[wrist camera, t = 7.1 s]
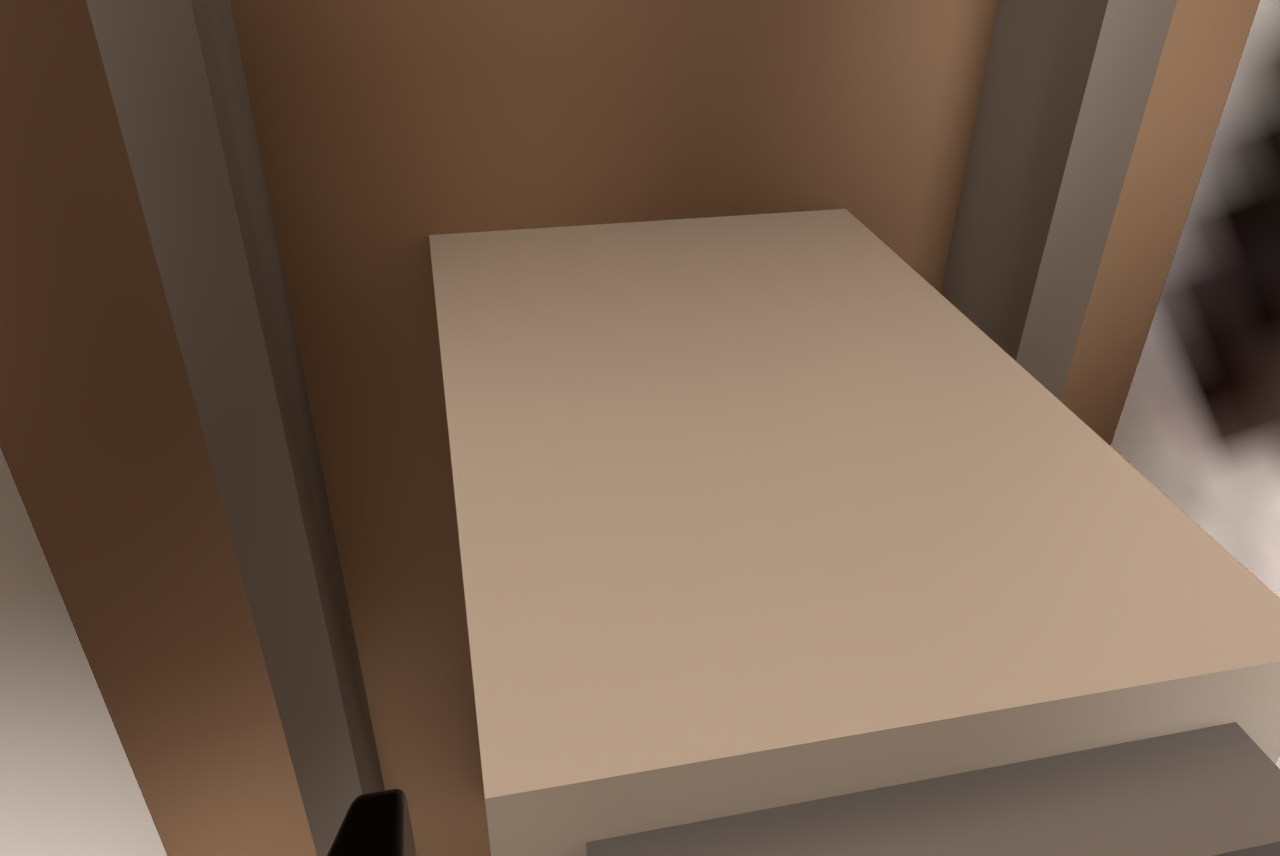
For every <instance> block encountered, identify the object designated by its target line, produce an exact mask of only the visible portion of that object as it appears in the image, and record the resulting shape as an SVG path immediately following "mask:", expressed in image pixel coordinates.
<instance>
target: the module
mask: <svg viewBox="0 0 1280 856" xmlns="http://www.w3.org/2000/svg"><path fill="white" fill-rule="evenodd" d="M429 241H430V251H431V261H432V271H433V281H434V291H435V301H436V312H437V322H438V332H439V342H440V352H441V362H442V372H443V382H444V392H445V402H446V412H447V423H448V433H449V443H450V453H451V463H452V473H453V483H454V493H455V503H456V513H457V523H458V533H459V544H460V554H461V564H462V574H463V584H464V594H465V604H466V614H467V624H468V634H469V644H470V655H471V665H472V675H473V685H474V695H475V705H476V715H477V725H478V735H479V745H480V755H481V766H482V776H483V786H484V796H485V805H486V814H487V824H488V833H489V842H490V851H491V856H1280V769H1279V768H1278V767H1277V766H1276V765H1275V763H1276V761H1277V759H1278V757H1279V756H1280V598H1279V597H1278V596H1277V595H1276V594H1275V593H1273V592H1272V591H1271V590H1270V589H1269V588H1268V587H1267V586H1266V585H1265V584H1263V583H1262V582H1261V581H1260V580H1259V579H1258V578H1257V577H1256V576H1255V575H1253V574H1252V573H1251V572H1250V571H1249V570H1248V569H1247V568H1246V567H1244V566H1243V565H1242V564H1241V563H1240V562H1239V561H1238V560H1237V559H1236V558H1234V557H1233V556H1232V555H1231V554H1230V553H1229V552H1228V551H1227V550H1226V549H1224V548H1223V547H1222V546H1221V545H1220V544H1219V543H1218V542H1217V541H1216V540H1214V539H1213V538H1212V537H1211V536H1210V535H1209V534H1208V533H1207V532H1205V531H1204V530H1203V529H1202V528H1201V527H1200V526H1199V525H1198V524H1197V523H1195V522H1194V521H1193V520H1192V519H1191V518H1190V517H1189V516H1188V515H1187V514H1185V513H1184V512H1183V511H1182V510H1181V509H1180V508H1179V507H1178V506H1177V505H1175V504H1174V503H1173V502H1172V501H1171V500H1170V499H1169V498H1168V497H1166V496H1165V495H1164V494H1163V493H1162V492H1161V491H1160V490H1159V489H1158V488H1156V487H1155V486H1154V485H1153V484H1152V483H1151V482H1150V481H1149V480H1148V479H1146V478H1145V477H1144V476H1143V475H1142V474H1141V473H1140V472H1139V471H1138V470H1136V469H1135V468H1134V467H1133V466H1132V465H1131V464H1130V463H1129V462H1127V461H1126V460H1125V459H1124V458H1123V457H1122V456H1121V455H1120V454H1119V453H1117V452H1116V451H1115V450H1114V449H1113V448H1112V447H1111V446H1110V445H1109V444H1107V443H1106V442H1105V441H1104V440H1103V439H1102V438H1101V437H1100V436H1099V435H1097V434H1096V433H1095V432H1094V431H1093V430H1092V429H1091V428H1090V427H1088V426H1087V425H1086V424H1085V423H1084V422H1083V421H1082V420H1081V419H1080V418H1078V417H1077V416H1076V415H1075V414H1074V413H1073V412H1072V411H1071V410H1070V409H1068V408H1067V407H1066V406H1065V405H1064V404H1063V403H1062V402H1061V401H1060V400H1058V399H1057V398H1056V397H1055V396H1054V395H1053V394H1052V393H1051V392H1049V391H1048V390H1047V389H1046V388H1045V387H1044V386H1043V385H1042V384H1041V383H1039V382H1038V381H1037V380H1036V379H1035V378H1034V377H1033V376H1032V375H1031V374H1029V373H1028V372H1027V371H1026V370H1025V369H1024V368H1023V367H1022V366H1021V365H1019V364H1018V363H1017V362H1016V361H1015V360H1014V359H1013V358H1012V357H1010V356H1009V355H1008V354H1007V353H1006V352H1005V351H1004V350H1003V349H1002V348H1000V347H999V346H998V345H997V344H996V343H995V342H994V341H993V340H992V339H990V338H989V337H988V336H987V335H986V334H985V333H984V332H983V331H982V330H980V329H979V328H978V327H977V326H976V325H975V324H974V323H973V322H971V321H970V320H969V319H968V318H967V317H966V316H965V315H964V314H963V313H961V312H960V311H959V310H958V309H957V308H956V307H955V306H954V305H953V304H951V303H950V302H949V301H948V300H947V299H946V298H945V297H944V296H943V295H941V294H940V293H939V292H938V291H937V290H936V289H935V288H934V287H933V286H931V285H930V284H929V283H928V282H927V281H926V280H925V279H924V278H922V277H921V276H920V275H919V274H918V273H917V272H916V271H915V270H914V269H912V268H911V267H910V266H909V265H908V264H907V263H906V262H905V261H904V260H902V259H901V258H900V257H899V256H898V255H897V254H896V253H895V252H894V251H892V250H891V249H890V248H889V247H888V246H887V245H886V244H885V243H883V242H882V241H881V240H880V239H879V238H878V237H877V236H876V235H875V234H873V233H872V232H871V231H870V230H869V229H868V228H867V227H866V226H865V225H863V224H862V223H861V222H860V221H859V220H858V219H857V218H856V217H855V216H853V215H852V214H851V213H850V212H849V211H848V210H847V209H832V210H817V211H801V212H785V213H769V214H754V215H738V216H722V217H706V218H691V219H675V220H659V221H643V222H628V223H612V224H596V225H580V226H565V227H549V228H533V229H517V230H502V231H486V232H470V233H454V234H439V235H429Z"/></svg>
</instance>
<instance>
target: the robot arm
mask: <svg viewBox="0 0 1280 856" xmlns="http://www.w3.org/2000/svg"><path fill="white" fill-rule="evenodd" d="M327 856H416V849H415V843H414V837H413V832H412V826H411V821H410V815H409V809H408V804H407V799H406V795H405V793H404V792H403V791H402V790H400V789H391V790H385V791H379V792H373V793H367V794H362V795H360V796H358V797H357V798H355V799H354V801H353V802H352V804H351V805H350V807H349V809H348V811H347V813H346V815H345V817H344V820H343V822H342V824H341V826H340V828H339V830H338V832H337V835H336V837H335V839H334V841H333V843H332V845H331V848H330V850H329V852H328V854H327Z"/></svg>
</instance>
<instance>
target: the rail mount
mask: <svg viewBox="0 0 1280 856" xmlns="http://www.w3.org/2000/svg"><path fill="white" fill-rule="evenodd" d="M1259 2H1260V0H0V447H1V449H2V452H3V454H4V456H5V459H6V461H7V464H8V466H9V469H10V471H11V474H12V476H13V478H14V481H15V483H16V486H17V488H18V491H19V493H20V496H21V498H22V501H23V503H24V505H25V508H26V510H27V513H28V515H29V518H30V520H31V523H32V525H33V527H34V530H35V532H36V535H37V537H38V540H39V542H40V545H41V547H42V549H43V552H44V554H45V557H46V559H47V562H48V564H49V567H50V569H51V571H52V574H53V576H54V579H55V581H56V584H57V586H58V589H59V591H60V594H61V596H62V598H63V601H64V603H65V606H66V608H67V611H68V613H69V616H70V618H71V620H72V623H73V625H74V628H75V630H76V633H77V635H78V638H79V640H80V642H81V645H82V647H83V650H84V652H85V655H86V657H87V660H88V662H89V665H90V667H91V669H92V672H93V674H94V677H95V679H96V682H97V684H98V687H99V689H100V691H101V694H102V696H103V699H104V701H105V704H106V706H107V709H108V711H109V713H110V716H111V718H112V721H113V723H114V726H115V728H116V731H117V733H118V735H119V738H120V740H121V743H122V745H123V748H124V750H125V753H126V755H127V758H128V760H129V762H130V765H131V767H132V770H133V772H134V775H135V777H136V780H137V782H138V784H139V787H140V789H141V792H142V794H143V797H144V799H145V802H146V804H147V806H148V809H149V811H150V814H151V816H152V819H153V821H154V824H155V826H156V829H157V831H158V833H159V836H160V838H161V841H162V843H163V846H164V848H165V851H166V853H167V855H168V856H327V854H328V852H329V850H330V848H331V845H332V843H333V841H334V839H335V837H336V835H337V832H338V830H339V828H340V826H341V824H342V822H343V820H344V817H345V815H346V813H347V811H348V809H349V807H350V805H351V804H352V802H353V801H354V799H355V798H357V797H358V796H360V795H362V794H367V793H373V792H379V791H385V790H391V789H400V790H402V791H403V792H404V793H405V795H406V799H407V804H408V809H409V815H410V821H411V826H412V832H413V837H414V843H415V849H416V856H491V851H490V842H489V833H488V824H487V814H486V805H485V796H484V786H483V776H482V766H481V755H480V745H479V735H478V725H477V715H476V705H475V695H474V685H473V675H472V665H471V655H470V644H469V634H468V624H467V614H466V604H465V594H464V584H463V574H462V564H461V554H460V544H459V533H458V523H457V513H456V503H455V493H454V483H453V473H452V463H451V453H450V443H449V433H448V423H447V412H446V402H445V392H444V382H443V372H442V362H441V352H440V342H439V332H438V322H437V312H436V301H435V291H434V281H433V271H432V261H431V251H430V241H429V235H439V234H454V233H470V232H486V231H502V230H517V229H533V228H549V227H565V226H580V225H596V224H612V223H628V222H643V221H659V220H675V219H691V218H706V217H722V216H738V215H754V214H769V213H785V212H801V211H817V210H832V209H847V210H848V211H849V212H850V213H851V214H852V215H853V216H855V217H856V218H857V219H858V220H859V221H860V222H861V223H862V224H863V225H865V226H866V227H867V228H868V229H869V230H870V231H871V232H872V233H873V234H875V235H876V236H877V237H878V238H879V239H880V240H881V241H882V242H883V243H885V244H886V245H887V246H888V247H889V248H890V249H891V250H892V251H894V252H895V253H896V254H897V255H898V256H899V257H900V258H901V259H902V260H904V261H905V262H906V263H907V264H908V265H909V266H910V267H911V268H912V269H914V270H915V271H916V272H917V273H918V274H919V275H920V276H921V277H922V278H924V279H925V280H926V281H927V282H928V283H929V284H930V285H931V286H933V287H934V288H935V289H936V290H937V291H938V292H939V293H940V294H941V295H943V296H944V297H945V298H946V299H947V300H948V301H949V302H950V303H951V304H953V305H954V306H955V307H956V308H957V309H958V310H959V311H960V312H961V313H963V314H964V315H965V316H966V317H967V318H968V319H969V320H970V321H971V322H973V323H974V324H975V325H976V326H977V327H978V328H979V329H980V330H982V331H983V332H984V333H985V334H986V335H987V336H988V337H989V338H990V339H992V340H993V341H994V342H995V343H996V344H997V345H998V346H999V347H1000V348H1002V349H1003V350H1004V351H1005V352H1006V353H1007V354H1008V355H1009V356H1010V357H1012V358H1013V359H1014V360H1015V361H1016V362H1017V363H1018V364H1019V365H1021V366H1022V367H1023V368H1024V369H1025V370H1026V371H1027V372H1028V373H1029V374H1031V375H1032V376H1033V377H1034V378H1035V379H1036V380H1037V381H1038V382H1039V383H1041V384H1042V385H1043V386H1044V387H1045V388H1046V389H1047V390H1048V391H1049V392H1051V393H1052V394H1053V395H1054V396H1055V397H1056V398H1057V399H1058V400H1060V401H1061V402H1062V403H1063V404H1064V405H1065V406H1066V407H1067V408H1068V409H1070V410H1071V411H1072V412H1073V413H1074V414H1075V415H1076V416H1077V417H1078V418H1080V419H1081V420H1082V421H1083V422H1084V423H1085V424H1086V425H1087V426H1088V427H1090V428H1091V429H1092V430H1093V431H1094V432H1095V433H1096V434H1097V435H1099V436H1100V437H1101V438H1102V439H1103V440H1104V441H1105V442H1106V443H1107V444H1109V445H1111V442H1112V439H1113V436H1114V433H1115V430H1116V427H1117V424H1118V421H1119V418H1120V415H1121V412H1122V409H1123V406H1124V404H1125V401H1126V398H1127V395H1128V392H1129V389H1130V386H1131V383H1132V380H1133V377H1134V374H1135V371H1136V368H1137V365H1138V362H1139V359H1140V356H1141V353H1142V350H1143V347H1144V344H1145V341H1146V338H1147V335H1148V332H1149V329H1150V326H1151V323H1152V320H1153V317H1154V314H1155V311H1156V308H1157V305H1158V302H1159V299H1160V296H1161V293H1162V290H1163V287H1164V284H1165V281H1166V278H1167V275H1168V273H1169V270H1170V267H1171V264H1172V261H1173V258H1174V255H1175V252H1176V249H1177V246H1178V243H1179V240H1180V237H1181V234H1182V231H1183V228H1184V225H1185V222H1186V219H1187V216H1188V213H1189V210H1190V207H1191V204H1192V201H1193V198H1194V195H1195V192H1196V189H1197V186H1198V183H1199V180H1200V177H1201V174H1202V171H1203V168H1204V165H1205V162H1206V159H1207V156H1208V153H1209V150H1210V147H1211V145H1212V142H1213V139H1214V136H1215V133H1216V130H1217V127H1218V124H1219V121H1220V118H1221V115H1222V112H1223V109H1224V106H1225V103H1226V100H1227V97H1228V94H1229V91H1230V88H1231V85H1232V82H1233V79H1234V76H1235V73H1236V70H1237V67H1238V64H1239V61H1240V58H1241V55H1242V52H1243V49H1244V46H1245V43H1246V40H1247V37H1248V34H1249V31H1250V28H1251V25H1252V22H1253V19H1254V16H1255V14H1256V11H1257V8H1258V5H1259Z"/></svg>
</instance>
